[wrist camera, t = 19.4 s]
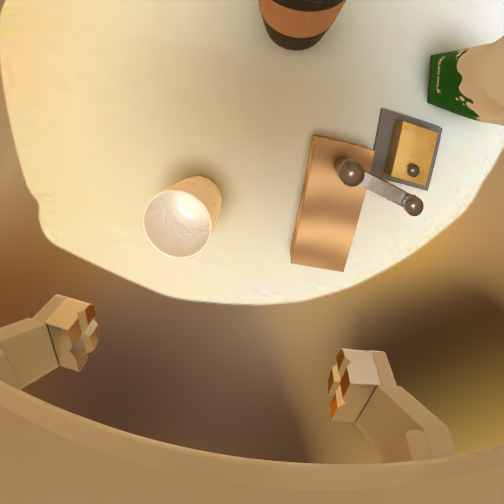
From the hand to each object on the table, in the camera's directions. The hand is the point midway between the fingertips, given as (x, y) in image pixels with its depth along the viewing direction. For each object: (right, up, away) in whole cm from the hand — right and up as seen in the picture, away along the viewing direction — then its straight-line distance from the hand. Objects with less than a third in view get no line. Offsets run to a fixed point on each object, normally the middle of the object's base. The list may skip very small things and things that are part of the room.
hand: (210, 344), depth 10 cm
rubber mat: (+21, +16, +28) cm, 39 cm away
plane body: (+11, +10, +32) cm, 35 cm away
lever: (+15, +10, +23) cm, 30 cm away
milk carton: (+28, +25, +23) cm, 44 cm away
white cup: (-6, +10, +33) cm, 35 cm away
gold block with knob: (+21, +16, +27) cm, 38 cm away
